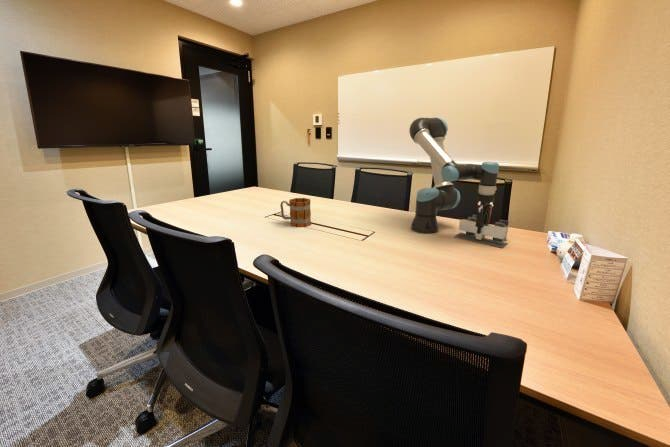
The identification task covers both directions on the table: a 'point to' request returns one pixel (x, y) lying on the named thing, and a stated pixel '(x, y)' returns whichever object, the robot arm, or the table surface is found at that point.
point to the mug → (298, 212)
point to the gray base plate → (483, 241)
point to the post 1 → (472, 220)
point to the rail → (487, 229)
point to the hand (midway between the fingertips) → (480, 237)
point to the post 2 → (502, 224)
